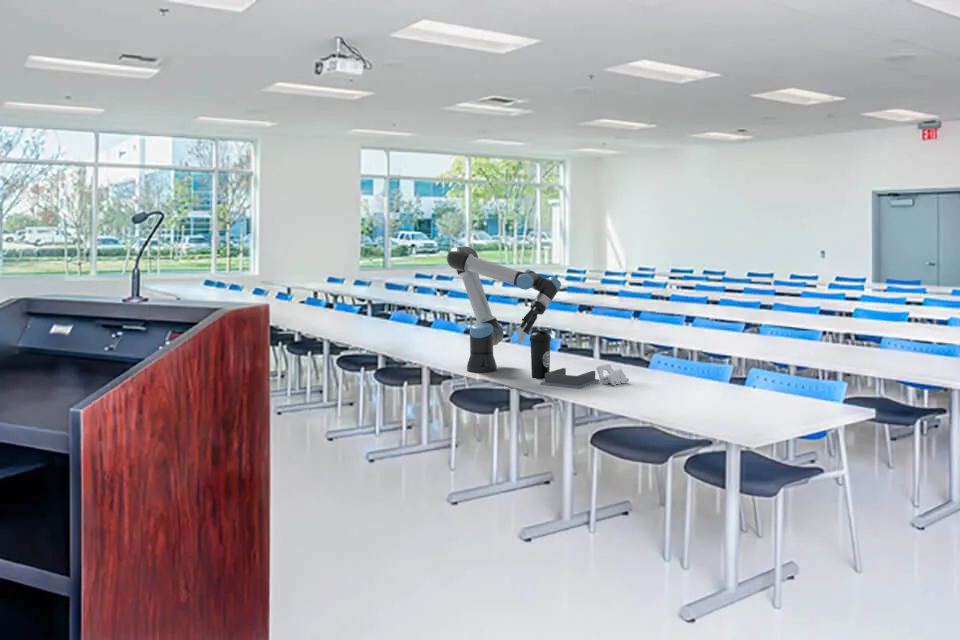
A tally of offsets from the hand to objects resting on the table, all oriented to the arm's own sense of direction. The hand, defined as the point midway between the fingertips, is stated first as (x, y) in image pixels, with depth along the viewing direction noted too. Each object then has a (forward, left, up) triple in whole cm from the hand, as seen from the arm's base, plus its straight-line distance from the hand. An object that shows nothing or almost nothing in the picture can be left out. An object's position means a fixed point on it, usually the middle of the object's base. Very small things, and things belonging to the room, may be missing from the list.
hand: (517, 338), depth 396 cm
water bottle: (+16, -5, -18) cm, 24 cm away
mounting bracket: (+52, -2, -18) cm, 55 cm away
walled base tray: (+35, -11, -17) cm, 41 cm away
